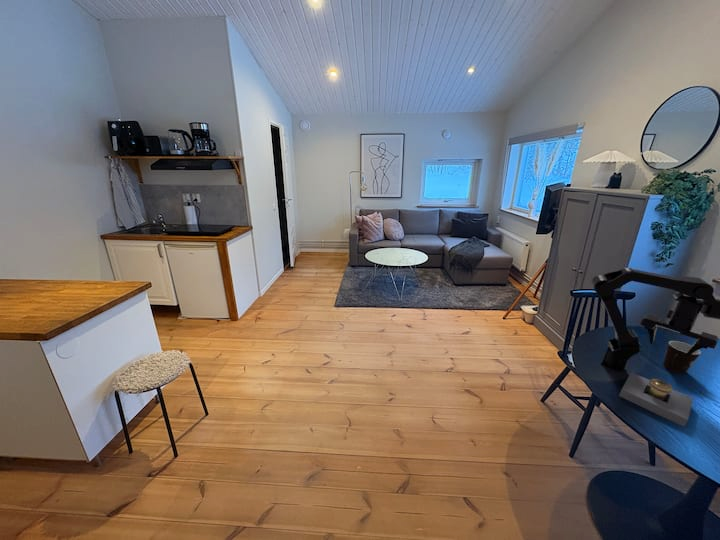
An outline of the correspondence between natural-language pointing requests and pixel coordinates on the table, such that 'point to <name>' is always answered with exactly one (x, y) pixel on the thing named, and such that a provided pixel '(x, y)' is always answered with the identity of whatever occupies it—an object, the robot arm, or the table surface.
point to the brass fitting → (659, 389)
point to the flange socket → (657, 400)
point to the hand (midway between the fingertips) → (668, 350)
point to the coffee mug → (679, 357)
